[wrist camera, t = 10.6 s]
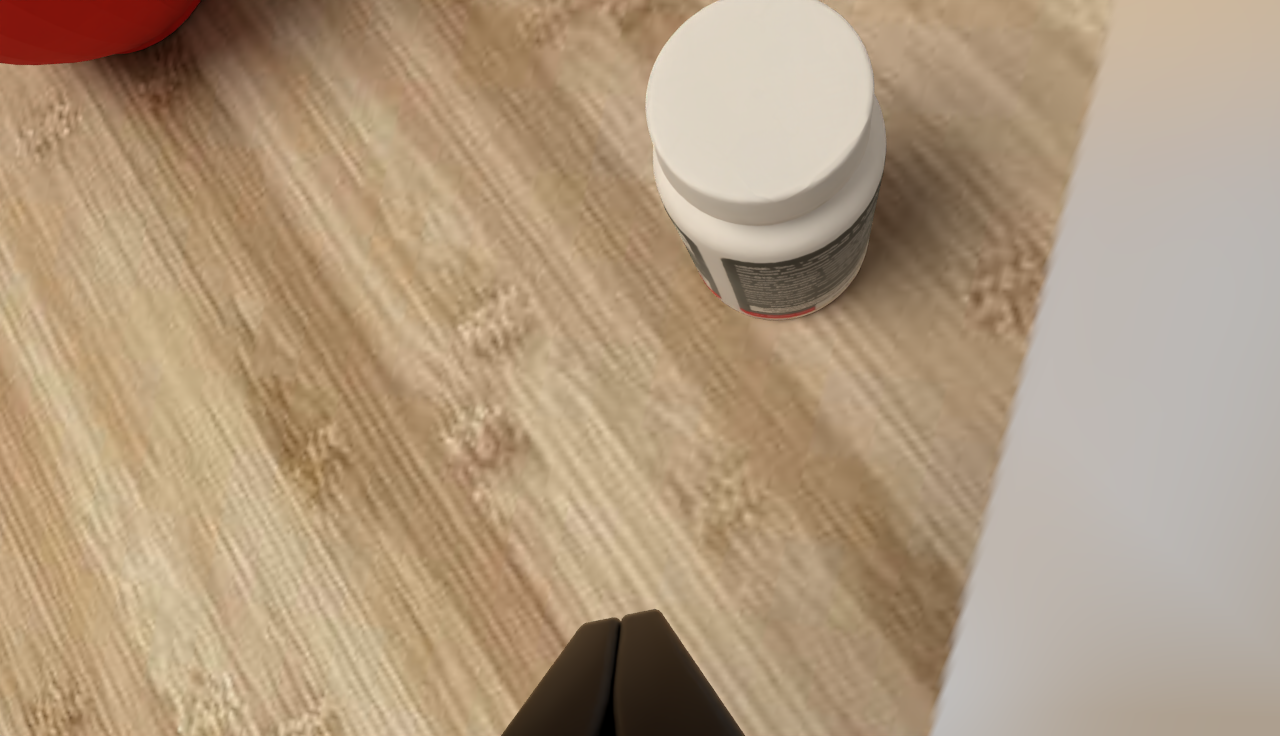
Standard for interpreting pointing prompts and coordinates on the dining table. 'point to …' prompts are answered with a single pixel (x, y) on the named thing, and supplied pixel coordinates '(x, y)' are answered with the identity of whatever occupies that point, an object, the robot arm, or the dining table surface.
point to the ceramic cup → (84, 28)
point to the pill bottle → (768, 151)
